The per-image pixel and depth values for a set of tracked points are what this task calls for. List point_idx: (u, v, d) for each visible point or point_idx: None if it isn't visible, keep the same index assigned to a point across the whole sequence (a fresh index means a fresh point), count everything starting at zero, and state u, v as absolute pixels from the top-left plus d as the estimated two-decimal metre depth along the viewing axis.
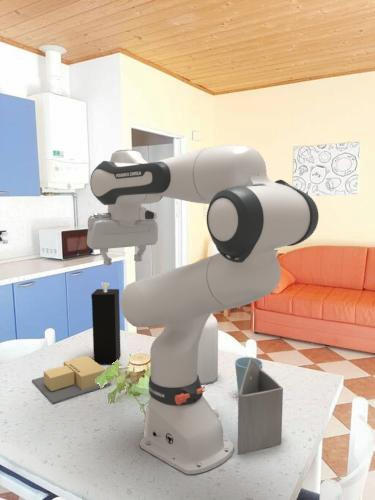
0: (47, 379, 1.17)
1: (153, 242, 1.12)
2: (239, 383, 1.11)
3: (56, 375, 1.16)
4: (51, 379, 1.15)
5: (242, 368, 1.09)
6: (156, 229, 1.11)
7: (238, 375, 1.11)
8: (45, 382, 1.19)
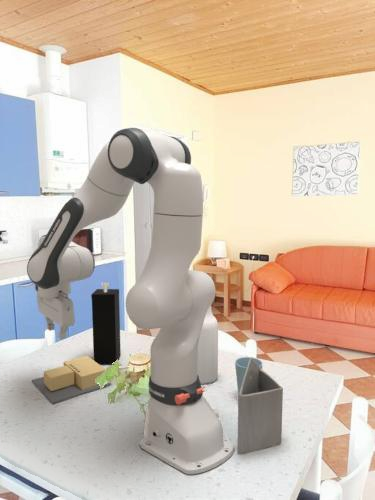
0: (47, 379, 1.17)
1: None
2: (239, 383, 1.11)
3: (56, 375, 1.16)
4: (51, 379, 1.15)
5: (242, 368, 1.09)
6: None
7: (238, 375, 1.11)
8: (45, 382, 1.19)
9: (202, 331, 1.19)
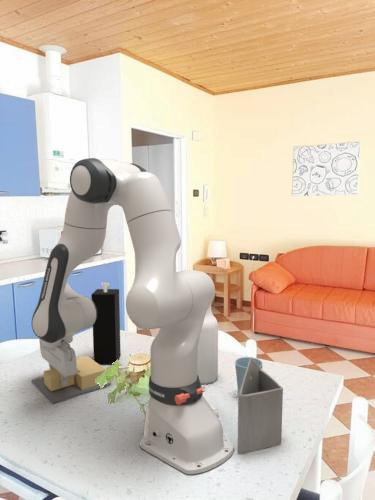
0: (47, 379, 1.17)
1: None
2: (239, 383, 1.11)
3: (56, 375, 1.16)
4: (51, 379, 1.15)
5: (242, 368, 1.09)
6: None
7: (238, 375, 1.11)
8: (45, 382, 1.19)
9: (202, 331, 1.19)
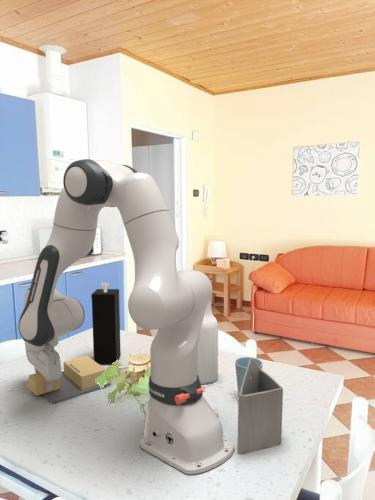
0: (32, 383, 1.14)
1: None
2: (239, 383, 1.11)
3: (41, 379, 1.14)
4: (36, 383, 1.12)
5: (242, 368, 1.09)
6: None
7: (238, 375, 1.11)
8: (30, 386, 1.16)
9: (202, 331, 1.19)
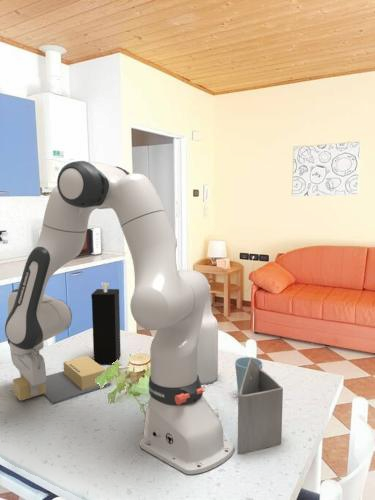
0: (17, 388, 1.11)
1: None
2: (239, 383, 1.11)
3: (26, 384, 1.11)
4: (20, 388, 1.09)
5: (242, 368, 1.09)
6: None
7: (238, 375, 1.11)
8: (15, 391, 1.13)
9: (202, 331, 1.19)
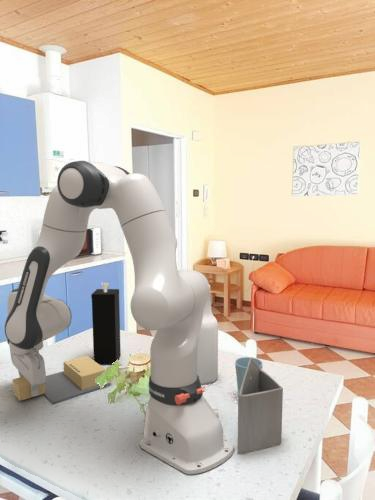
0: (16, 388, 1.11)
1: None
2: (239, 383, 1.11)
3: (25, 384, 1.11)
4: (19, 388, 1.09)
5: (242, 368, 1.09)
6: None
7: (238, 375, 1.11)
8: (14, 391, 1.13)
9: (202, 331, 1.19)
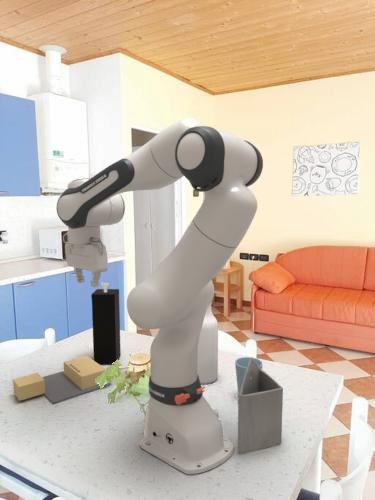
0: (16, 388, 1.11)
1: None
2: (239, 383, 1.11)
3: (25, 384, 1.11)
4: (19, 388, 1.09)
5: (242, 368, 1.09)
6: None
7: (238, 375, 1.11)
8: (14, 391, 1.13)
9: (202, 331, 1.19)
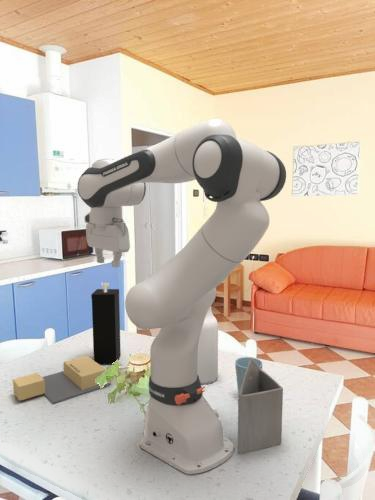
0: (16, 388, 1.11)
1: None
2: (239, 383, 1.11)
3: (25, 384, 1.11)
4: (19, 388, 1.09)
5: (242, 368, 1.09)
6: None
7: (238, 375, 1.11)
8: (14, 391, 1.13)
9: (202, 331, 1.19)
